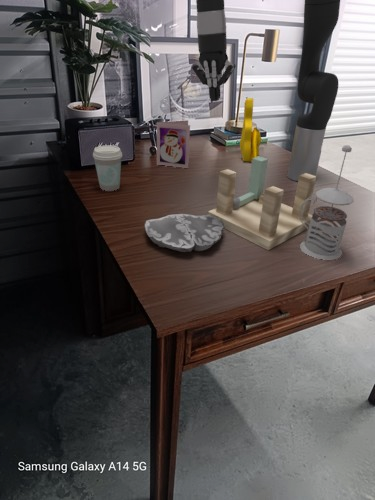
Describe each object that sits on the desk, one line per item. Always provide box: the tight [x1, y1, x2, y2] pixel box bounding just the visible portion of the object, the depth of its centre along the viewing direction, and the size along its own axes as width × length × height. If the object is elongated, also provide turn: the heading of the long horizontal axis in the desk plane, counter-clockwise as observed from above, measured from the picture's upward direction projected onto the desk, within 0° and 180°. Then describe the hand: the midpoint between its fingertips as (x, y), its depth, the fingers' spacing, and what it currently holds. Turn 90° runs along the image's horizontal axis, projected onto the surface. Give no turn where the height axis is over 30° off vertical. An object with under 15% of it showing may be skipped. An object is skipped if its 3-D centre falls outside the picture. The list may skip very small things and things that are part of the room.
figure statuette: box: [239, 97, 262, 163], centre depth 141 cm, size 18×8×22 cm, turn 174°
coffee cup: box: [92, 145, 123, 192], centre depth 116 cm, size 8×8×12 cm
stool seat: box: [207, 168, 317, 251], centre depth 100 cm, size 20×20×14 cm
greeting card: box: [156, 119, 191, 169], centre depth 135 cm, size 11×7×15 cm, turn 77°
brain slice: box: [143, 213, 225, 253], centre depth 93 cm, size 20×17×3 cm
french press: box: [299, 144, 355, 261], centre depth 86 cm, size 10×12×25 cm
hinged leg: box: [233, 155, 269, 209], centre depth 104 cm, size 13×3×11 cm, turn 138°
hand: (215, 100), depth 111 cm, fingers closed
